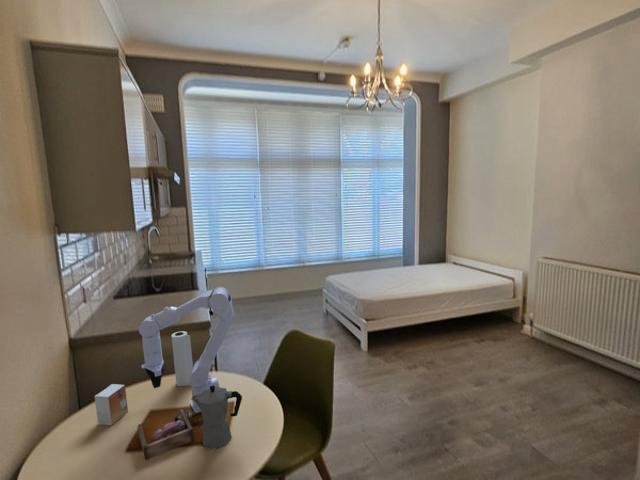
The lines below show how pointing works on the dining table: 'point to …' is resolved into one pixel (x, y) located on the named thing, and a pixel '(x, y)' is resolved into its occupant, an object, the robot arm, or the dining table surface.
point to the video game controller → (168, 430)
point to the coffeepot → (216, 415)
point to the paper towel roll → (182, 357)
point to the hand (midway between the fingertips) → (156, 386)
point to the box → (166, 440)
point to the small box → (111, 404)
